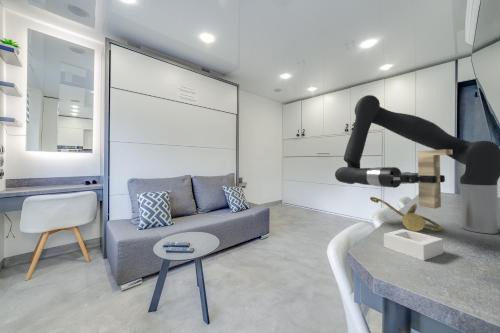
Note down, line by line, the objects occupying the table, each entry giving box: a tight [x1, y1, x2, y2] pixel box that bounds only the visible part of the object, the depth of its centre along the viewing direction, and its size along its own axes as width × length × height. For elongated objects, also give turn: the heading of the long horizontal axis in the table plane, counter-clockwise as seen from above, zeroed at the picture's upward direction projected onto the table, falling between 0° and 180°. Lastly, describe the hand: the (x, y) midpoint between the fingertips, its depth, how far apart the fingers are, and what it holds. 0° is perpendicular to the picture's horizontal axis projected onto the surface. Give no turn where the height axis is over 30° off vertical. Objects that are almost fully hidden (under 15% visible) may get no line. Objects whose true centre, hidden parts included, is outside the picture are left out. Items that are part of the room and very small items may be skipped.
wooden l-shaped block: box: [417, 149, 453, 210], centre depth 63 cm, size 4×7×18 cm, turn 25°
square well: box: [383, 228, 444, 261], centre depth 58 cm, size 10×10×4 cm
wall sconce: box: [369, 196, 442, 232], centre depth 83 cm, size 14×10×25 cm
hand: (440, 179), depth 62 cm, fingers closed on wooden l-shaped block, 4 cm apart
